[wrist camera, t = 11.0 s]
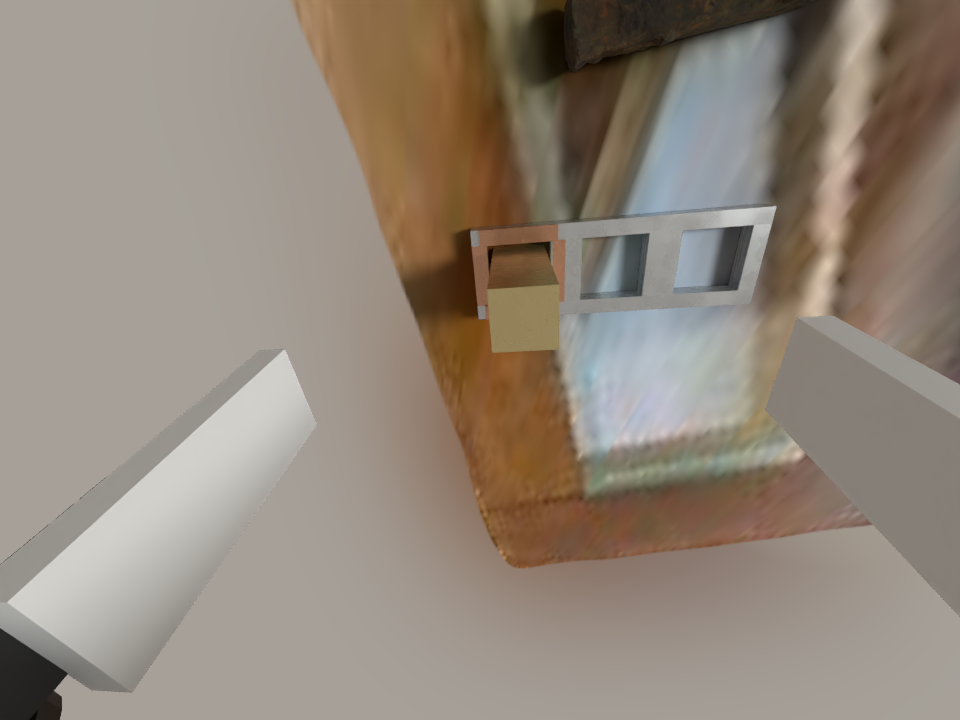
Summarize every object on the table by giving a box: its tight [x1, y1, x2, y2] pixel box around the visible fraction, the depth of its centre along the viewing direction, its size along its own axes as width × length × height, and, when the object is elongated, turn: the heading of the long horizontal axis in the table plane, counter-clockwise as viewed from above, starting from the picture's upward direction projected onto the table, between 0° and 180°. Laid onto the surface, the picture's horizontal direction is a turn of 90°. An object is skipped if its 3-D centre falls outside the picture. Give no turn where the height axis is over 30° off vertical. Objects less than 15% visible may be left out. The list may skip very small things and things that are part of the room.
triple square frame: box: [470, 204, 777, 320], centre depth 32 cm, size 8×24×2 cm, turn 95°
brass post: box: [487, 244, 559, 353], centre depth 29 cm, size 4×4×12 cm
